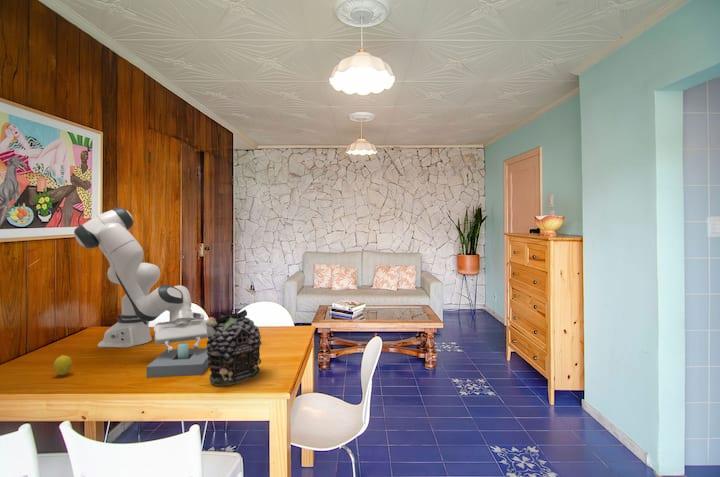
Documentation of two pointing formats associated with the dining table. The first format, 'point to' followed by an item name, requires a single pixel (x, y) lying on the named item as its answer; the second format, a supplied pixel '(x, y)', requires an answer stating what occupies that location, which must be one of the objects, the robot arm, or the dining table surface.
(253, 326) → the decorative house
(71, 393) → the dining table surface
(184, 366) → the cutout board
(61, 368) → the lemon
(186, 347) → the peg
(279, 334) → the dining table surface
